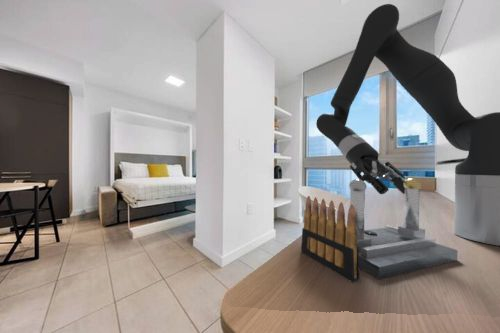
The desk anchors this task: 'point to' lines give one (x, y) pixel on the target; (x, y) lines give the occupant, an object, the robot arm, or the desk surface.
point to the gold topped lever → (411, 211)
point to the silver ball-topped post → (359, 211)
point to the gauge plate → (401, 253)
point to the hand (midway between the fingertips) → (397, 192)
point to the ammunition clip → (331, 238)
